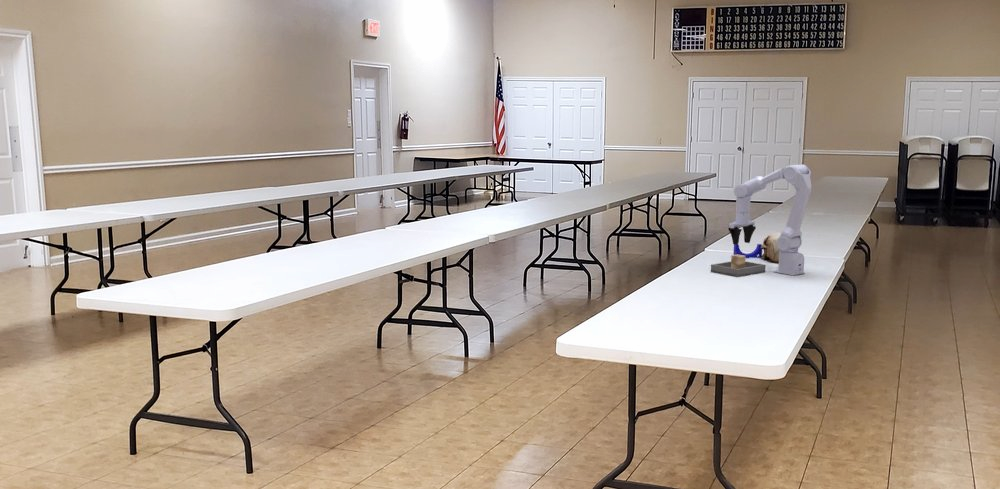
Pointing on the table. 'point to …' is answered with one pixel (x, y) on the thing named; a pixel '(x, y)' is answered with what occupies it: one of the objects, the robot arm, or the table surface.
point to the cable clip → (750, 255)
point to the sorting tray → (748, 270)
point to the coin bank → (771, 247)
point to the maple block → (738, 261)
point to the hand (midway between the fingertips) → (741, 243)
